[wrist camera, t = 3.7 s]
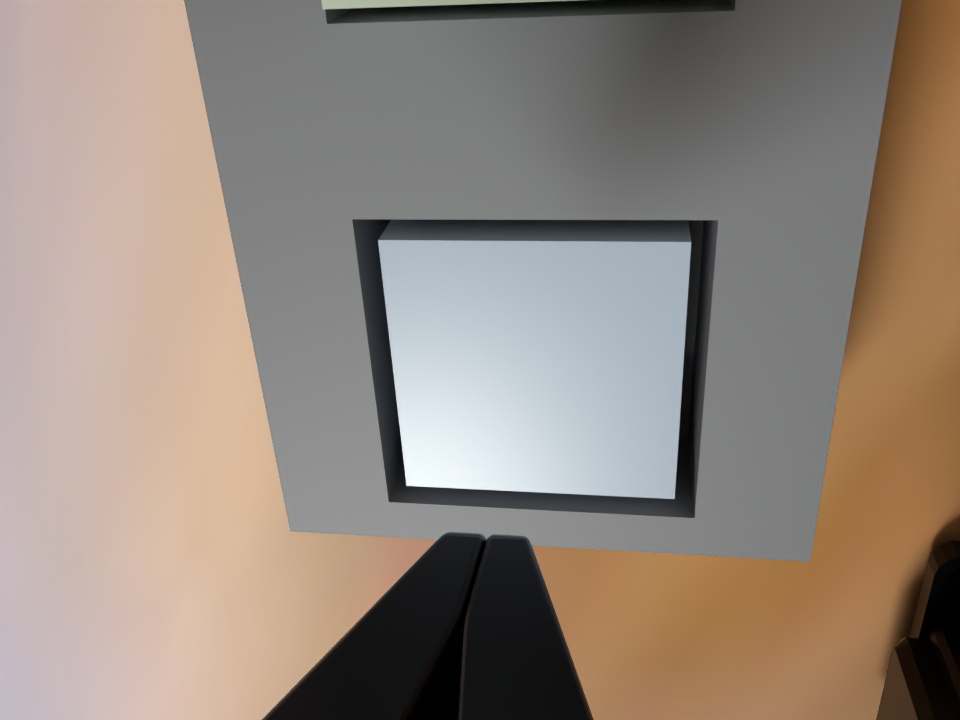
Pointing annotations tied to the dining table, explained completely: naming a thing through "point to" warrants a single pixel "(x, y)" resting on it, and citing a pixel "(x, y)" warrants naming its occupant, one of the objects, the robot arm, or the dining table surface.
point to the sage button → (412, 3)
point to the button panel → (554, 196)
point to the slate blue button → (538, 352)
